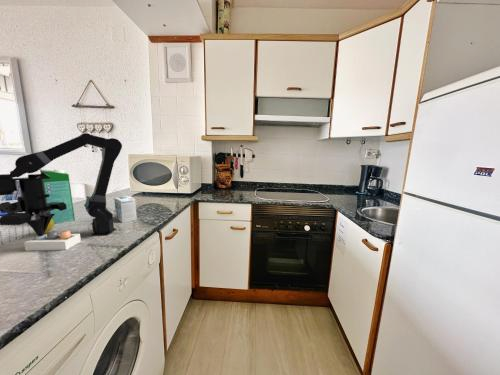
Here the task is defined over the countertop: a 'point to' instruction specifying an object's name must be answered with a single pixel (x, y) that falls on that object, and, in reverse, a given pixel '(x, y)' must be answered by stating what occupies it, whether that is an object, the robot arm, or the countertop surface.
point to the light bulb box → (125, 208)
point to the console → (52, 243)
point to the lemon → (49, 226)
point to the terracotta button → (65, 235)
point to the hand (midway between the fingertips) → (40, 235)
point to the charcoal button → (52, 235)
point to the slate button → (41, 237)
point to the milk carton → (59, 194)
